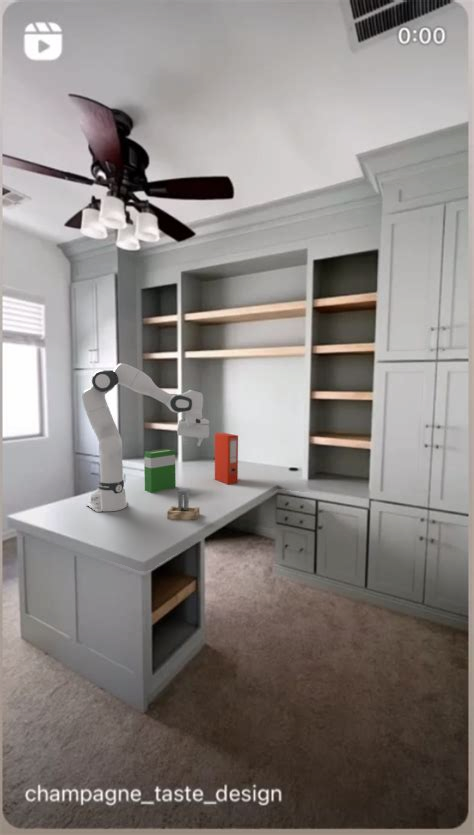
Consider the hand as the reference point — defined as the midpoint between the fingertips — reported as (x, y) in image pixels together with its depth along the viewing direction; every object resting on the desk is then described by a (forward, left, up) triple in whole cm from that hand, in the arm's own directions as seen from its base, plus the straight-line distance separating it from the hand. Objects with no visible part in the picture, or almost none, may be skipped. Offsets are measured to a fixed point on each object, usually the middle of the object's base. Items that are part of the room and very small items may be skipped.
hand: (191, 445), depth 202 cm
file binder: (-14, +49, -32) cm, 60 cm away
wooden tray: (+12, -19, -32) cm, 39 cm away
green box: (-35, +9, -32) cm, 48 cm away
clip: (+12, -20, -31) cm, 38 cm away
